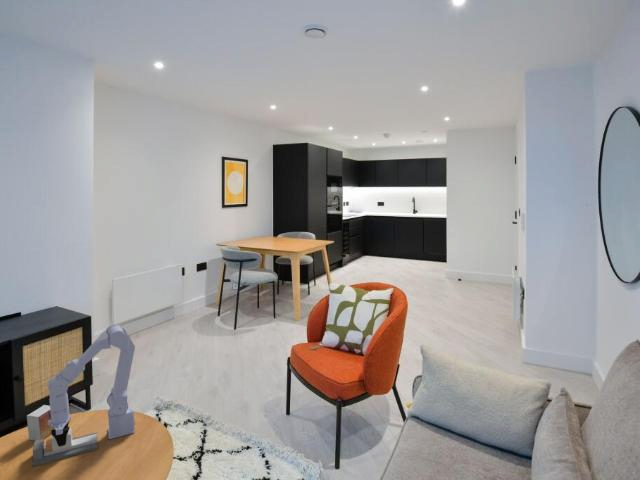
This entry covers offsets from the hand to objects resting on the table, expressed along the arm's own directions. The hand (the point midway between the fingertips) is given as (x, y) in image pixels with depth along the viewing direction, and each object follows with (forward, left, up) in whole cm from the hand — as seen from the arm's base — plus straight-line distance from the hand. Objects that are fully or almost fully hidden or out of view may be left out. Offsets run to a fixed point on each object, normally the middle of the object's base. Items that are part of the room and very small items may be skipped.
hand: (62, 441), depth 150 cm
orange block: (+4, 0, -1) cm, 4 cm away
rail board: (-1, 0, -4) cm, 4 cm away
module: (0, 0, -2) cm, 2 cm away
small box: (+8, -15, -4) cm, 17 cm away
